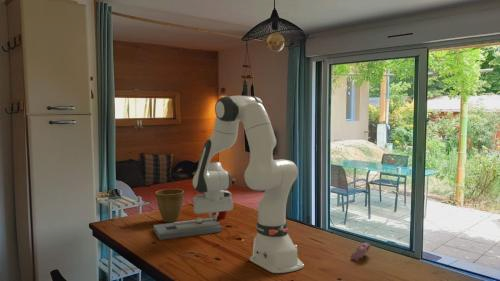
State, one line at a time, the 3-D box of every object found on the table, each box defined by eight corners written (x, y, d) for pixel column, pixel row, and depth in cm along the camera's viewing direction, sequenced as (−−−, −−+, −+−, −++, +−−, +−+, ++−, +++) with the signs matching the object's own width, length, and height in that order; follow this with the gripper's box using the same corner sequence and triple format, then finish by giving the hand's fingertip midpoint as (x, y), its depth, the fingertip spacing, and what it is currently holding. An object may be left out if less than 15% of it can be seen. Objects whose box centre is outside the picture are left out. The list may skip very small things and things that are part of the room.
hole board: (221, 231, 183) (221, 224, 183) (159, 239, 171) (159, 232, 170) (211, 223, 197) (211, 216, 197) (153, 230, 185) (153, 222, 185)
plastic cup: (229, 220, 202) (229, 198, 202) (209, 220, 203) (209, 198, 202) (231, 215, 213) (231, 194, 212) (212, 214, 213) (212, 194, 213)
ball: (204, 225, 185) (204, 217, 185) (196, 226, 184) (196, 218, 183) (202, 222, 189) (201, 215, 189) (194, 223, 187) (194, 215, 187)
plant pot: (171, 215, 212) (170, 187, 211) (190, 219, 203) (189, 190, 202) (150, 221, 200) (149, 192, 199) (169, 226, 191) (168, 195, 190)
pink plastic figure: (359, 265, 146) (368, 251, 144) (349, 258, 148) (357, 244, 146) (365, 257, 155) (374, 243, 153) (356, 250, 157) (364, 237, 155)
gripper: (194, 196, 181) (195, 224, 182) (234, 193, 190) (234, 219, 190) (191, 193, 187) (191, 221, 188) (229, 190, 195) (229, 216, 196)
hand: (213, 220), depth 189 cm, fingers closed
